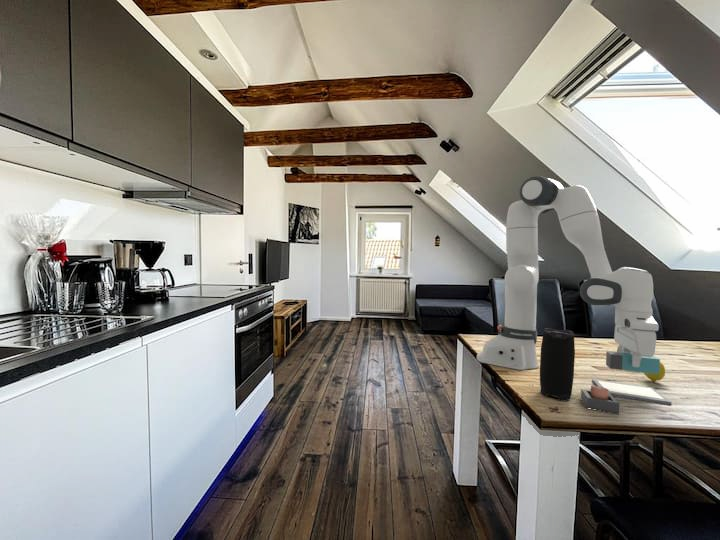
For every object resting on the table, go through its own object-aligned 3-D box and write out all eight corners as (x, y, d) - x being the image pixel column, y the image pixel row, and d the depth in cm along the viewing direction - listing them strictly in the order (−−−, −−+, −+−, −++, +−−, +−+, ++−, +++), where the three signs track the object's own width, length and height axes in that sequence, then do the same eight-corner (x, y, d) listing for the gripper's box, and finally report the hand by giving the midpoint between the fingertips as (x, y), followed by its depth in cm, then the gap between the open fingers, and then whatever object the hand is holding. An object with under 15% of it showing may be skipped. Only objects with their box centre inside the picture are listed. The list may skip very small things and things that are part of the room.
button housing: (587, 408, 87) (587, 398, 87) (580, 399, 94) (581, 388, 94) (619, 414, 85) (619, 403, 84) (609, 403, 91) (610, 393, 91)
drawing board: (603, 394, 98) (603, 391, 98) (592, 381, 109) (592, 378, 109) (671, 404, 92) (671, 401, 92) (652, 389, 103) (652, 387, 103)
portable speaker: (571, 393, 97) (575, 329, 97) (572, 405, 89) (576, 335, 89) (539, 387, 102) (542, 325, 101) (537, 397, 94) (541, 330, 93)
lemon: (668, 385, 107) (670, 361, 107) (649, 383, 108) (650, 360, 108) (657, 379, 113) (658, 357, 112) (638, 378, 114) (640, 355, 114)
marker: (610, 368, 100) (610, 354, 100) (606, 364, 104) (606, 351, 104) (659, 374, 96) (659, 359, 96) (653, 370, 99) (653, 355, 99)
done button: (592, 400, 88) (593, 389, 88) (588, 395, 92) (589, 384, 92) (610, 403, 86) (611, 392, 86) (605, 397, 90) (606, 387, 90)
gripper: (609, 314, 110) (607, 354, 111) (633, 324, 91) (631, 372, 92) (632, 315, 108) (630, 356, 108) (661, 326, 89) (659, 375, 89)
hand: (631, 363), depth 100 cm, fingers closed on marker, 4 cm apart
